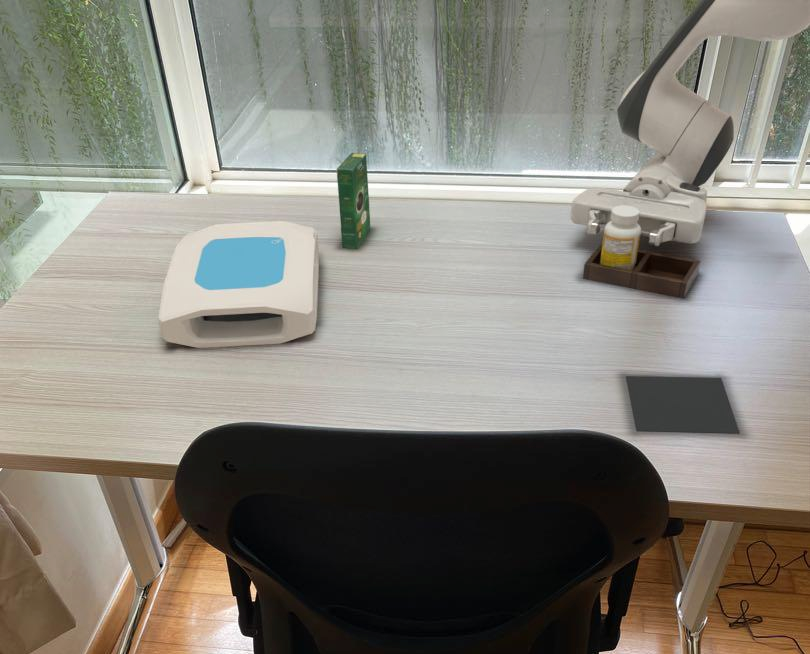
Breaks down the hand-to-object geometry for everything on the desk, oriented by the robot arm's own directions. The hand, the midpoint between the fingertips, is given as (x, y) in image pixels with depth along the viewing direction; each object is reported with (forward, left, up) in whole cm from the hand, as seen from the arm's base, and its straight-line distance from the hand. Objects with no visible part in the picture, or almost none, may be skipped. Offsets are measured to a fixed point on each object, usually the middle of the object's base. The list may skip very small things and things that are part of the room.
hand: (622, 234), depth 130 cm
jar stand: (-3, +1, -6) cm, 7 cm away
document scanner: (+56, +9, -7) cm, 57 cm away
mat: (-4, +35, -6) cm, 36 cm away
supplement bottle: (0, 0, -6) cm, 6 cm away
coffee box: (+42, -12, -7) cm, 44 cm away
